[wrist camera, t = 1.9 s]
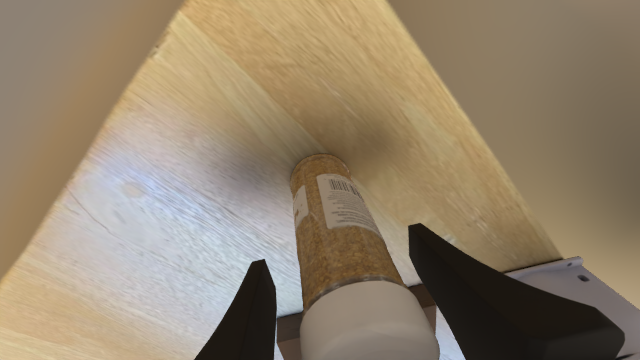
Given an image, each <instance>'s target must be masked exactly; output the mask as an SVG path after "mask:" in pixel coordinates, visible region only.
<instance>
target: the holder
mask: <svg viewBox="0 0 640 360" xmlns="http://www.w3.org/2000/svg"><path fill="white" fill-rule="evenodd" d="M408 288H409V290H410V292H411V293H413V294H414V296H415V297H416V298H417V300H418V302H419V304H420V306H421V308H422V310H423V311H424V313H425V315H426V317H427V319H428V321H429V324H430V326H431V328H432V330H433V332H434V334H435V331H436V304H435V302H434V300H433V298H432V297H431V295H430V294H429V292H428V290H427V289H426V287H425V285H424V284H421V285H417V286H413V287H408ZM302 317H303V312H302V313H298V314H294V315H290V316H285V317H281V318H277V345H278V347H279V350H280V352H281V354H282V356H283V359H284V360H302V355H301V342H300V326H301V323H302V320H303V319H302Z"/></svg>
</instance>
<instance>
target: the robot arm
mask: <svg viewBox="0 0 640 360" xmlns="http://www.w3.org/2000/svg"><path fill="white" fill-rule="evenodd" d="M408 231H409V256H410V259H411V261H412V263H413V265H414V267H415V270H416V272H417V274H418V276H419V277H420V279H421V281H422V282H423V284H424V285H425V287H426V289H427V290H428V292H429V294H430V295H431V297H432V298H433V300H434V302H435V303H436V305H437V306H438V308H439V310H440V311H441V313H442V314H443V316H444V318H445V320H446V321H447V323H448V325H449V327H450V329H451V331H452V333H453V335H454V337H455V339H456V341H457V343H458V345H459V347H460V349H461V351H462V353H463V355H464V357H465V359H466V360H640V310H639V309H638V308H636V307H635V306H634V305H632V304H631V303H630V302H629V301H627V300H626V299H625V298H623V297H622V296H621V295H619V294H618V293H617V292H615V291H614V290H613V289H612V288H610V287H609V286H608V285H606V284H605V283H604V282H602V281H601V280H600V279H598V278H597V277H596V276H594V275H593V274H592V273H591V272H589V271H588V270H587V269H585V268H584V267H583V266H582V263H583V259H582V258H581V257H579V256H577V257H572V258H568V259H564V260H560V261H555V262H551V263H547V264H543V265H538V266H534V267H530V268H526V269H521V270H517V271H513V272H509V273H504V274H503V273H501V272H499V271H497V270H495V269H493V268H491V267H489V266H487V265H485V264H483V263H481V262H479V261H477V260H476V259H474V258H472V257H471V256H469V255H467V254H465V253H464V252H462V251H461V250H459V249H458V248H456V247H454V246H453V245H451V244H450V243H448V242H447V241H445V240H444V239H442V238H441V237H440V236H438V235H437V234H435V233H434V232H433V231H431V230H430V229H428V228H427V227H425V226H424V225H423V224H421V223H418V224H414V225H409V226H408ZM276 312H277V304H276V287H275V285H274V282H273V280H272V277H271V274H270V272H269V269H268V267H267V264H266V261H265V259H262V260H258V261H254V262H252V263H251V265H250V267H249V269H248V271H247V273H246V276H245V278H244V280H243V282H242V284H241V286H240V288H239V290H238V292H237V294H236V296H235V298H234V300H233V301H232V303H231V305H230V307H229V309H228V310H227V312H226V314H225V315H224V317H223V319H222V320H221V322H220V324H219V325H218V327H217V328H216V330H215V331H214V333H213V334H212V336H211V337H210V339H209V340H208V342H207V343H206V344H205V346H204V347H203V348H202V350H201V351H200V352H199V354H198V355H197V356H196V358H195V359H194V360H274V346H275V330H276Z"/></svg>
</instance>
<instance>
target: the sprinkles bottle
mask: <svg viewBox="0 0 640 360" xmlns="http://www.w3.org/2000/svg"><path fill="white" fill-rule="evenodd" d="M290 187H291V192H292V194H293V201H294V202H293V213H294V223H295V234H296V244H297V255H298V261H299V265H300V276H301V287H302V299H303V308H304V310H303V317H302V319H303V320H302V323H301V326H300V342H301V355H302V360H439V357H440V348H439V344H438V341H437V339H436V336H435V334H434V332H433V330H432V328H431V326H430V324H429V321H428V319H427V317H426V315H425V313H424V311H423V310H422V308H421V306H420V304H419V302H418V300H417V298H416V297H415V296H414V294H413V293H411V292H410V290H409V288H408V287H407V286H406V285H405V284H404V283H403V281H402V279H401V276H400V274H399V273H398V270H397V269H396V267H395V265H394V263H393V261H392V258H391V256H390V254H389V252H388V250H387V246H386V244H385V242H384V240H383V238H382V236H381V234H380V232H379V230H378V228H377V226H376V224H375V222H374V220H373V218H372V216H371V214H370V212H369V210H368V208H367V206H366V204H365V202H364V201H363V199H362V197H361V195H360V193H359V191H358V189H357V188H356V186H355V185H354V184H353V181H352V180H351V175H350V172H349V169H348V167H347V166H346V165H345V164H344V163H343V161H341V160H340V159H338V158H337V157H335V156H332V155H329V154H316V155H313V156H309V157H307V158H305V159H303V160H302V161H301V162H300V163H299V164H298V165H297V166H296V167H295V169H294V171H293V173H292V175H291V179H290Z"/></svg>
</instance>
